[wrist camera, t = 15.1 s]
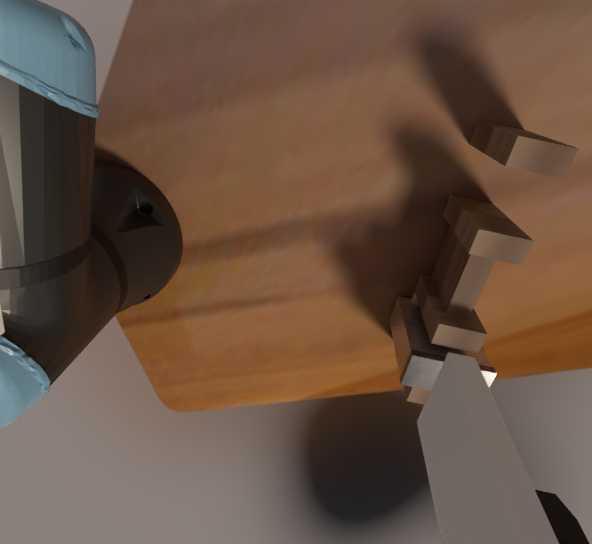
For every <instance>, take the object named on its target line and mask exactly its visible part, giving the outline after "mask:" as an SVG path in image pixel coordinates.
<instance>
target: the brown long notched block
mask: <svg viewBox="0 0 592 544" xmlns="http://www.w3.org/2000/svg"><path fill="white" fill-rule="evenodd" d="M469 144H470V145H472V146H473V147H475V148H476V149H478V150H480V151H481V152H483V153H485V154H486V155H488V156H489V157H491V158H493V159H494V160H496V161H498V162H499V163H501V164H502V165H504V166H506V167H511V168H516V169H521V170H525V171H530V172H535V173H539V174H544V175H549V176H554V177H558V178H563V179H564V178H565V175H566V173H567V171H568V169H569V167H570V165H571V163H572V161H573V159H574V157H575V155H576V153H577V151H578V148H575V147H573V146H570V145H567V144H564V143H561V142H558V141H555V140H552V139H549V138H547V137H544V136H541V135H538V134H535V133H532V132H529V131H526V130H523V129H518V128H513V127H509V126H504V125H499V124H495V123H490V122H485V121H480V120H478V121H477V124H476V127H475V129H474V132H473V135H472V137H471V140H470V143H469ZM443 216H444V218H445V219H446V221H447V222H448V224H449V225H450V227H449V230H448V232H447V235H446V237H445V240H444V243H443V245H442V248H441V250H440V253H439V256H438V258H437V261H436V264H435V266H434V269H433V271H432V274H431V276H426V275H420V278H419V281H418V283H417V286H416V289H415V292H414V294H413V297H412V299H415V300H418V304H419V307H420V310H421V313H422V316H423V319H424V323H425V326H426V329H427V332H428V335H429V338H430V342H431V343H432V344H437V345H441V346H446V347H450V348H455V349H460V350H464V351H469V352H474V353H478V352H479V350H480V348H481V346H482V344H483V342H484V340H485V338H486V336H487V333H486V331H485V329H484V327H483V325H482V323H481V321H480V320H479V318H478V316H477V314H476V312H475V310H474V306H475V303H476V301H477V299H478V297H479V295H480V292H481V290H482V288H483V286H484V284H485V281H486V279H487V277H488V275H489V273H490V271H491V268H492V266H493V264H494V262H495V260H500V261H504V262H509V263H514V264H518V265H522V263H523V261H524V259H525V257H526V255H527V253H528V251H529V249H530V247H531V245H532V243H533V240H532V239H531V238H530V237H529V236H528V235H526V234H525V233H524V232H523V231H522V230H521V229H520V228H519V227H518V226H517V225H516V224H514V223H513V222H512V221H511V220H510V219H509V218H508V217H507V216H506V215H505V214H504V213H502V212H501V211H500V210H499V209H498V208H497V207H496V206H495V205H494V204H491V203H486V202H482V201H477V200H472V199H468V198H463V197H458V196H454V195H450V197H449V200H448V202H447V205H446V208H445V210H444V213H443ZM404 388H405V393H406V398H407V401H411V402H415V403H420V404H424V405H425V403H426V401H427V398H428V396H429V394H430V392H431V391H428V390H423V389H419V388H414V387H410V386H405V385H404Z"/></svg>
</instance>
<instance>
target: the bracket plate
mask: <svg viewBox="0 0 592 544" xmlns="http://www.w3.org/2000/svg"><path fill="white" fill-rule="evenodd" d="M390 325H391V330H392V336H393V341H394V347H395V352H396V358H397V363H398V369H399V374H400V383H401V385H405V386H410V387H414V388H419V389H423V390H428V391H431V390H432V387H433V385H434V383H435V381H436V378H437V376H438V374H439V372H440V370H441V367H442V365H443V363H444V361H445V358H446V356H447V354H448V352H450V353H454V354H459V355H464V356H468V357H473V358H475V359H476V361H477V363H478V365H479V367H480V370H481V372H482V374H483V376H484V379H485V381H486V383H487V385H488V387H490V385H491V383H492V382H493V380H494V378H495V376H496V374H497V373H496V371H495V369H494V367H492V365H491V363H490V361H489V359H488V357H487V355H486V353H485V351H484V349H483V347H482V346H481V348H480V350H479V352H478V353H474V352H469V351H464V350H460V349H455V348H450V347H446V346H441V345H437V344H432V343H431V342H430V338H429V335H428V332H427V329H426V326H425V323H424V319H423V316H422V313H421V310H420V307H419V304H418V300H415V299H410V298H406V297H401V296H398V297H397V300H396V303H395V306H394V309H393V311H392V314H391V317H390Z"/></svg>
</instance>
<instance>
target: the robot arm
mask: <svg viewBox="0 0 592 544" xmlns="http://www.w3.org/2000/svg"><path fill="white" fill-rule="evenodd" d="M95 68H96V67H95V51H94V47H93V44H92V41H91V39H90V37H89V35H88V33H87V32H86V31H85V29H84V28H83V27H82V26H81V25H80V23H78V22H77V21H76V20H75V19H74V18H73V17H71V16H70V15H68V14H66V13H65V12H63V11H60V10H58V9H56V8H54V7H52V6H49V5H47V4H45V3H42V2H40V1H37V0H0V428H3V427H5V426H7V425H9V424H10V423H12V422H13V421H14V420H16V419H17V418H18V417H19V416H20V415H21V414H23V413H24V412H25V411H26V410H27V409H28V408H29V407H31V406H32V405H33V404H34V403H35V402H36V401H38V400H39V399H40V398H42V397H44V395H45V394H46V393H47V392H48V391H49V389H50V386H51V385H52V383H53V382H54V381H55V380H56V379H57V378H58V377H59V376H60V375H61V374H62V373H63V371H64V370H65V369H66V368H67V367H68V366H69V365H70V364H71V363H72V362H73V360H74V359H75V358H76V357H77V356H78V355H79V353H81V352H82V351H83V349H84V348H85V347H86V346H87V345H88V344H89V343H90V342H91V341H92V340H93V339H94V337H95V336H96V335H97V334H98V333H99V332H100V331H101V330H102V329H103V327H104V326H105V325H106V324H107V323H108V322H109V321H110V320H111V319H112V318H113V317H114V316H115V314H116V313H118V312H120V311H123V310H125V309H127V308H129V307H131V306H133V305H137V304H139V303H142V302H144V301H146V300H148V299H150V298H152V297H153V296H155V295H156V294H157V293H159V292H160V291H161V290H162V289H163V288H164V287H165V285H166V284H167V283H168V282H169V281H170V279H171V278H172V277H173V275H174V274H175V272H176V271H177V269H178V266H179V264H180V260H181V256H182V247H183V243H182V234H181V229H180V225H179V222H178V220H177V217H176V215H175V213H174V211H173V209H172V207H171V205H170V204H169V202H168V201H167V199H166V198H165V197H164V196H163V194H162V193H161V192H160V191H159V190H158V189H157V188H156V187H155V186H154V185H153V184H152V183H151V182H150V181H148V180H147V179H146V178H144V177H143V176H141V175H140V174H138V173H137V172H135V171H133V170H131V169H129V168H127V167H124V166H122V165H119V164H116V163H112V162H107V161H98V160H94V150H95V125H96V118H99V117H98V116H99V113H100V109H99V107H98V106H97V105H96V73H95V72H96V69H95ZM417 425H418V430H419V434H420V439H421V443H422V449H423V454H424V459H425V463H426V468H427V473H428V478H429V483H430V487H431V492H432V498H433V502H434V507H435V512H436V517H437V522H438V527H439V532H440V536H441V541H442V544H589V542H588V541H587V538H586V536H585V534H584V532H583V531H582V528H581V527H580V525H579V523H578V521H577V519H576V518H575V517H574V516H573V515H572V513H571V512H570V511H569V510H568V509H567V507H566V506H565V505H564V504H563V503H562V501H561V500H560V499H559V498H558V497H557V496H556V494H552V493H548V492H543V491H539V490H535V489H534V487H533V485H532V483H531V480H530V478H529V476H528V474H527V472H526V469H525V467H524V465H523V463H522V460H521V458H520V456H519V454H518V452H517V449H516V447H515V445H514V443H513V441H512V438H511V436H510V434H509V432H508V429H507V427H506V425H505V423H504V421H503V418H502V416H501V414H500V412H499V410H498V407H497V405H496V403H495V401H494V398H493V396H492V394H491V392H490V390H489V387H488V385H487V383H486V381H485V379H484V376H483V374H482V372H481V370H480V367H479V365H478V363H477V361H476V359H475V358H473V357H468V356H464V355H459V354H454V353H450V352H448V354H447V356H446V358H445V361H444V363H443V365H442V367H441V370H440V372H439V374H438V376H437V378H436V381H435V383H434V385H433V387H432V390H431V392H430V394H429V396H428V398H427V401H426V403H425V405H424V407H423V410H422V412H421V414H420V416H419V418H418V421H417Z"/></svg>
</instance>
